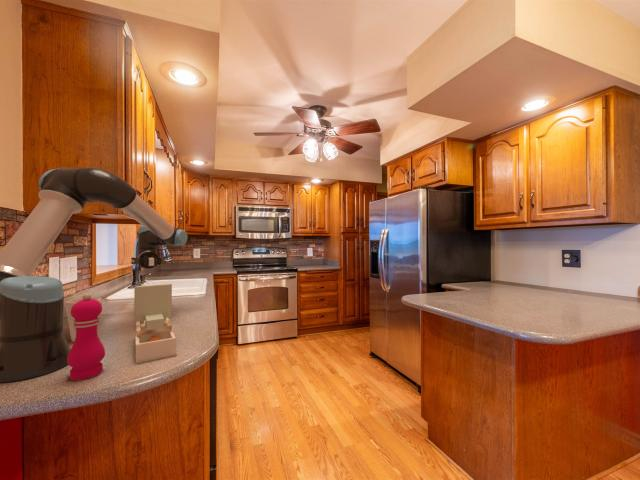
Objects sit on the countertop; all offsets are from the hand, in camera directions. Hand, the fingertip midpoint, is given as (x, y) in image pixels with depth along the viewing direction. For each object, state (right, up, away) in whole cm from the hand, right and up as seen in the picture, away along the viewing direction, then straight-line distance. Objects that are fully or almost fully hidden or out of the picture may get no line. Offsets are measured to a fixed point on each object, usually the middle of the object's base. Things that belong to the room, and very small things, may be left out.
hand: (151, 262), depth 104 cm
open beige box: (+14, -25, -22) cm, 36 cm away
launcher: (+8, -25, -13) cm, 30 cm away
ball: (+13, -23, -20) cm, 33 cm away
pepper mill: (+5, -25, -35) cm, 43 cm away
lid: (+12, -18, -19) cm, 29 cm away
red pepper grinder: (-18, -25, -9) cm, 32 cm away
